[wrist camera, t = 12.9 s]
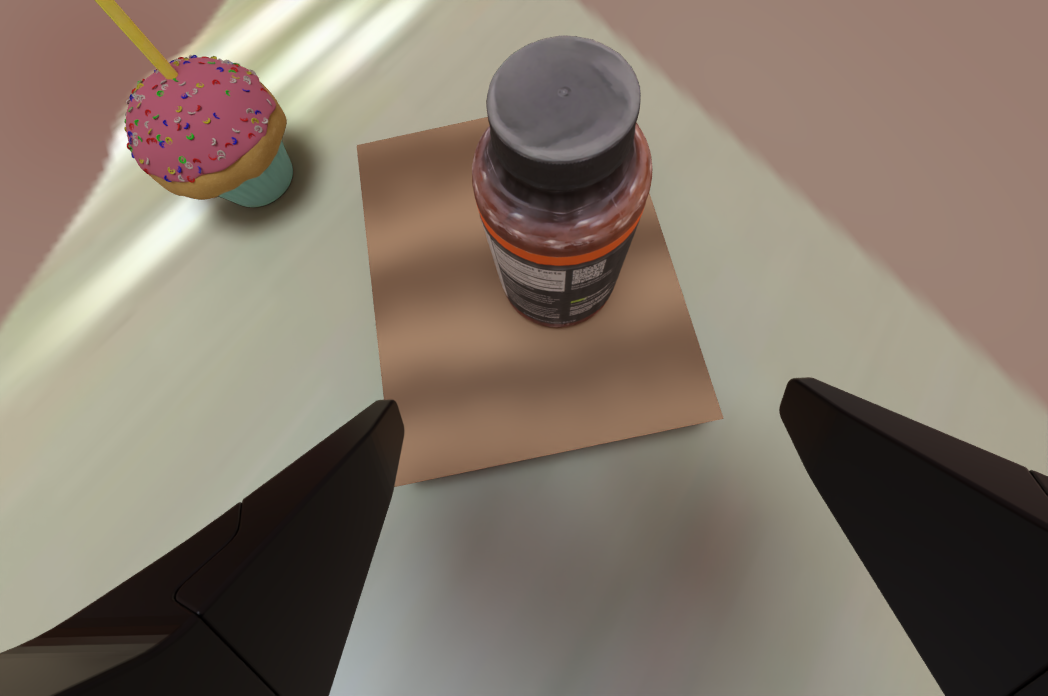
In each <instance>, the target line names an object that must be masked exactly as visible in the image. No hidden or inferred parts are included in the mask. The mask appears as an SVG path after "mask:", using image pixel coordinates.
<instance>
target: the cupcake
mask: <svg viewBox="0 0 1048 696" xmlns="http://www.w3.org/2000/svg"><path fill="white" fill-rule="evenodd" d="M95 1H96V2H97V3H98V4H99V5H100V7H101V8H102V9H103V10H104V11H105V12H106V13H107V14H108V15H109V16H110V18H111V19H112V20H113V21H114V22H115V23H116V24H117V25H118V26H119V28H120V29H121V30H122V31H123V32H124V33H125V34H126V35H127V36H128V37H129V39H130V40H131V41H132V42H133V43H134V44H135V45H136V46H137V47H138V48H139V49H140V50H141V52H142V53H143V54H144V55H145V56H146V57H147V58H148V59H149V60H150V62H151V63H152V64H153V65H154V66H155V67H156V68H157V69H156V70H154V73H153V74H152V75H150V76H149V77H148V78H147V79H143V80H142V81H138V83H137V88H135V89H133V90H132V94H131V95H130V97H129V99H128V100H127V101H126V103H127V104H129V106H128V109H127V112H126V114H125V116H126V119H125V123H126V127H125V131H126V132H127V137H128V141H129V143H127V148H128V149H129V150H130V151H131V152H132V153H131V155H132V157H133V158H135V160H136V161H137V163H138V165H139V166H140V168H141V169H142V170H143V171H145V172H146V173H147V174H149V175H150V176H151V177H152V178H153V179H154V180H155V181H156V182H158V183H159V184H160V185H161V186H163V187H164V188H165V189H167V190H168V191H170V192H172V193H174V194H176V195H179V196H186V197H189V198H193V199H199V200H204V199H210V198H215V197H217V196H219V197H222V198H224V199H227V200H229V201H232V202H234V203H237V204H239V205H242V206H245V207H260V206H264V205H267V204H269V203H271V202H273V201H275V200H276V199H278V198H279V197H280V196H281V195H282V194H283V193H284V192H285V191H286V190H287V188H288V187H289V185H290V183H291V180H292V176H293V167H292V163H291V161H290V159H289V156H288V154H287V152H286V150H285V148H284V145H283V142H282V137H283V134H284V131H285V128H286V124H287V120H286V116H285V114H284V112H283V110H282V109H281V107H280V106H279V104H278V102H277V100H276V99H275V98H274V96H273V95H272V94H271V92H270V91H269V90H268V89H267V88H266V87H265V86H264V85H263V84H262V83H261V82H260V81H259V78H258V76H257V75H256V73H255V72H254V71H253V70H248V69H246V68H244V67H241V66H240V65H239V64H237V63H232V62H230V61H229V60H224V61H222V60H221V59H219V60H217V57H216V56H213V57H211V58H209V57H202V58H197V56H196V55H193V56H192V55H189V59H188V58H187V57H185V58H183V57H179V58H178V59H175V60H172V61H171V62H170V63H168V61H167V60H166V59H165V58H164V57H163V56H162V55H161V54H160V52H159V51H158V50H157V49H156V48H155V47H154V45H153V44H152V43H151V42H150V41H149V40H148V39H147V37H145V35H144V34H143V33H142V32H141V31H140V29H139V28H138V27H137V26H136V25H135V24H134V23H133V21H132V20H131V19H130V18H129V17H128V16H127V15H126V14H125V12H124V11H123V10H122V9H121V8H120V7H119V5H118V4H117V3H116V2H115V1H114V0H95ZM141 82H142V83H141ZM128 101H129V103H128ZM129 144H130V145H129ZM129 147H130V148H129Z"/></svg>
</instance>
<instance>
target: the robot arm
mask: <svg viewBox="0 0 1048 696" xmlns="http://www.w3.org/2000/svg"><path fill="white" fill-rule="evenodd" d="M779 411H780V416H781V419H782V421H783V423H784V425H785V427H786V429H787V431H788V434H789V436H790V438H791V440H792V442H793V444H794V446H795V448H796V450H797V452H798V454H799V456H800V458H801V461H802V463H803V465H804V467H805V469H806V471H807V473H808V474H809V476H810V478H811V480H812V482H813V483H814V485H815V487H816V488H817V490H818V492H819V493H820V495H821V496H822V498H823V500H824V501H825V503H826V504H827V506H828V508H829V509H830V511H831V512H832V514H833V516H834V517H835V519H836V521H837V522H838V524H839V525H840V527H841V529H842V530H843V532H844V533H845V535H846V537H847V538H848V540H849V542H850V543H851V545H852V546H853V548H854V550H855V551H856V553H857V554H858V556H859V558H860V559H861V561H862V562H863V564H864V566H865V567H866V569H867V571H868V572H869V574H870V575H871V577H872V579H873V580H874V582H875V583H876V585H877V587H878V588H879V590H880V592H881V593H882V595H883V596H884V598H885V600H886V601H887V603H888V604H889V606H890V608H891V609H892V611H893V612H894V614H895V616H896V617H897V619H898V621H899V622H900V624H901V625H902V627H903V629H904V630H905V632H906V633H907V635H908V637H909V638H910V640H911V642H912V643H913V645H914V646H915V648H916V650H917V651H918V653H919V654H920V656H921V658H922V659H923V661H924V662H925V664H926V666H927V667H928V669H929V671H930V672H931V674H932V675H933V677H934V679H935V680H936V682H937V683H938V685H939V687H940V688H941V690H942V692H943V693H944V695H945V696H1048V476H1045V475H1043V474H1041V473H1038V472H1036V471H1033V470H1030V471H1029V470H1028V469H1027V468H1026V467H1024V466H1021V465H1019V464H1017V463H1014V462H1012V461H1009V460H1007V459H1005V458H1002V457H1000V456H998V455H995V454H993V453H990V452H988V451H986V450H983V449H981V448H979V447H976V446H974V445H971V444H969V443H967V442H964V441H962V440H959V439H957V438H955V437H952V436H950V435H948V434H945V433H943V432H940V431H938V430H936V429H933V428H931V427H929V426H926V425H924V424H921V423H919V422H917V421H914V420H912V419H909V418H907V417H905V416H902V415H900V414H898V413H895V412H893V411H890V410H888V409H886V408H883V407H881V406H879V405H876V404H874V403H871V402H869V401H867V400H864V399H862V398H859V397H857V396H855V395H852V394H850V393H848V392H845V391H843V390H840V389H838V388H836V387H833V386H831V385H829V384H826V383H824V382H821V381H819V380H817V379H814V378H810V377H806V378H793V379H791V380H790V381H789V382H788V383H787V386H786V389H785V392H784V395H783V398H782V401H781V404H780V410H779ZM404 433H405V429H404V424H403V421H402V417H401V414H400V411H399V407H398V404H397V402H396V401H395V400H393V399H389V400H377V401H376V402H374V403H373V404H371V405H370V406H369V407H367V408H366V409H365V410H363V411H362V412H361V413H359V414H358V415H356V416H355V417H354V418H352V419H351V420H350V421H348V422H347V423H346V424H344V425H343V426H342V427H340V428H339V429H338V430H336V431H335V432H334V433H332V434H331V435H329V436H328V437H327V438H325V439H324V440H323V441H321V442H320V443H319V444H317V445H316V446H315V447H313V448H312V449H311V450H309V451H308V452H306V453H305V454H304V455H302V456H301V457H300V458H298V459H297V460H296V461H294V462H293V463H292V464H290V465H289V466H288V467H286V468H285V469H283V470H282V471H281V472H279V473H278V474H277V475H275V476H274V477H273V478H271V479H270V480H269V481H267V482H266V483H265V484H263V485H262V486H260V487H259V488H258V489H256V490H255V491H254V492H252V493H251V494H250V495H248V496H247V497H246V498H244V499H243V501H242V503H241V502H239V503H237V504H236V505H235V506H233V507H232V508H231V509H229V510H228V511H227V512H225V513H224V514H223V515H221V516H220V517H218V518H217V519H216V520H214V521H213V522H211V523H210V524H209V525H207V526H206V527H204V528H203V529H202V530H200V531H199V532H198V533H196V534H195V535H193V536H192V537H191V538H189V539H188V540H186V541H185V542H183V543H182V544H180V545H179V546H177V547H176V548H174V549H173V550H171V551H170V552H168V553H167V554H165V555H164V556H162V557H161V558H159V559H158V560H156V561H155V562H153V563H152V564H150V565H149V566H147V567H146V568H144V569H143V570H141V571H140V572H138V573H137V574H135V575H134V576H132V577H131V578H129V579H128V580H126V581H125V582H123V583H122V584H120V585H119V586H117V587H116V588H114V589H112V590H111V591H109V592H108V593H106V594H105V595H103V596H102V597H100V598H99V599H97V600H96V601H94V602H93V603H91V604H90V605H88V606H87V607H85V608H84V609H82V610H81V611H79V612H78V613H76V614H75V615H73V616H72V617H70V618H68V619H67V620H65V621H64V622H62V623H60V624H59V625H57V626H56V627H54V628H52V629H50V630H49V631H47V632H45V633H43V634H41V635H39V636H38V637H36V638H34V639H32V640H29V641H27V642H25V643H23V644H21V645H19V646H17V647H14V648H12V649H9V650H7V651H4V652H2V653H0V696H329V693H330V690H331V687H332V684H333V681H334V678H335V674H336V671H337V668H338V665H339V662H340V659H341V656H342V652H343V649H344V646H345V643H346V640H347V637H348V634H349V630H350V627H351V624H352V621H353V618H354V615H355V612H356V608H357V605H358V602H359V599H360V596H361V593H362V590H363V586H364V583H365V580H366V577H367V574H368V571H369V568H370V564H371V561H372V558H373V555H374V552H375V549H376V545H377V542H378V539H379V536H380V533H381V530H382V527H383V523H384V520H385V517H386V514H387V511H388V508H389V505H390V501H391V498H392V494H393V490H394V486H395V481H396V476H397V470H398V465H399V460H400V455H401V450H402V445H403V440H404Z"/></svg>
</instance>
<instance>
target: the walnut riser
mask: <svg viewBox="0 0 1048 696" xmlns="http://www.w3.org/2000/svg"><path fill="white" fill-rule="evenodd" d="M489 126H490V125H489V122H488V117H486V118H481V119H476V120H472V121H467V122H462V123H458V124H453V125H449V126H444V127H439V128H435V129H430V130H425V131H421V132H416V133H412V134H407V135H402V136H398V137H393V138H388V139H384V140H379V141H375V142H370V143H365V144H361V145H357V153H358V162H359V172H360V181H361V190H362V200H363V209H364V218H365V227H366V237H367V246H368V255H369V265H370V274H371V283H372V292H373V302H374V311H375V320H376V329H377V339H378V348H379V357H380V367H381V376H382V385H383V394H384V400H389V399H393V400H395V401H396V402H397V404H398V407H399V411H400V414H401V417H402V421H403V424H404V429H405V433H404V440H403V445H402V450H401V455H400V460H399V465H398V470H397V476H396V481H395V486H394V487H397V486H401V485H406V484H411V483H416V482H421V481H426V480H430V479H435V478H440V477H445V476H450V475H454V474H459V473H464V472H469V471H474V470H479V469H483V468H488V467H493V466H498V465H503V464H507V463H512V462H517V461H522V460H527V459H532V458H536V457H541V456H546V455H551V454H556V453H560V452H565V451H570V450H575V449H580V448H585V447H589V446H594V445H599V444H604V443H609V442H613V441H618V440H623V439H628V438H633V437H637V436H642V435H647V434H652V433H657V432H662V431H666V430H671V429H676V428H681V427H686V426H690V425H695V424H700V423H705V422H710V421H715V420H719V419H723V416H722V413H721V410H720V407H719V403H718V400H717V397H716V394H715V391H714V388H713V385H712V382H711V379H710V376H709V373H708V370H707V367H706V364H705V361H704V358H703V355H702V352H701V349H700V346H699V343H698V340H697V337H696V334H695V330H694V327H693V324H692V321H691V318H690V315H689V312H688V309H687V306H686V303H685V300H684V297H683V294H682V291H681V288H680V285H679V282H678V279H677V276H676V273H675V270H674V267H673V264H672V261H671V258H670V254H669V251H668V248H667V245H666V242H665V239H664V236H663V233H662V230H661V227H660V224H659V221H658V218H657V215H656V212H655V209H654V206H653V203H652V200H651V197H650V194H648V197H647V200H646V204H645V207H644V210H643V213H642V215H641V218H640V221H639V224H638V226H637V229H636V232H635V234H634V237H633V239H632V242H631V245H630V247H629V250H628V252H627V255H626V258H625V260H624V263H623V265H622V268H621V271H620V273H619V276H618V279H617V281H616V284H615V286H614V289H613V291H612V293H611V295H610V297H609V299H608V300H607V302H606V303H605V305H604V306H603V307H602V308H601V309H600V310H599V311H598V312H597V313H596V314H595V315H594V316H592V317H590V318H589V319H587V320H585V321H584V322H581V323H578V324H576V325H571V326H566V327H558V328H557V327H548V326H543V325H540V324H537V323H534V322H532V321H530V320H528V319H526V318H525V317H524V316H522V315H521V314H520V313H519V312H518V311H516V310H515V308H514V307H513V306H512V305H511V303H510V302H509V300H508V298H507V296H506V294H505V292H504V289H503V287H502V284H501V281H500V278H499V275H498V272H497V269H496V265H495V262H494V260H493V256H492V253H491V249H490V246H489V244H488V241H487V237H486V234H485V231H484V227H483V225H482V221H481V218H480V214H479V210H478V207H477V204H476V200H475V196H474V191H473V186H472V185H473V184H472V164H473V157H474V154H475V150H476V148H477V145H478V143H479V140H480V138H481V136H482V135H483V133H484V132H485V131H486V129H487V128H488V127H489Z"/></svg>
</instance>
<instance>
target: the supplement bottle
mask: <svg viewBox="0 0 1048 696" xmlns="http://www.w3.org/2000/svg"><path fill="white" fill-rule="evenodd" d="M486 103H487V114H488V122H489V125H490V126H489V127H488V128H487V129H486V131H485V132H484V133H483V135H482V136H481V138H480V140H479V143H478V145H477V148H476V150H475V154H474V157H473V164H472V184H473V185H472V186H473V191H474V196H475V200H476V204H477V207H478V210H479V214H480V218H481V221H482V225H483V227H484V231H485V234H486V237H487V241H488V244H489V246H490V249H491V253H492V256H493V260H494V262H495V265H496V269H497V272H498V275H499V278H500V281H501V284H502V287H503V289H504V292H505V294H506V296H507V298H508V300H509V302H510V303H511V305H512V306H513V307H514V308H515V310H516V311H518V312H519V313H520V314H521V315H522V316H524V317H525V318H526V319H528V320H530V321H532V322H534V323H537V324H540V325H543V326H548V327H557V328H558V327H566V326H571V325H576V324H578V323H581V322H584V321H585V320H587V319H589V318H590V317H592V316H594V315H595V314H596V313H597V312H598V311H599V310H600V309H601V308H602V307H603V306H604V305H605V303H606V302H607V300H608V299H609V297H610V295H611V293H612V291H613V289H614V286H615V284H616V281H617V279H618V276H619V273H620V271H621V268H622V265H623V263H624V260H625V258H626V255H627V252H628V250H629V247H630V245H631V242H632V239H633V237H634V234H635V232H636V229H637V226H638V224H639V221H640V218H641V215H642V213H643V210H644V207H645V204H646V200H647V197H648V194H649V191H650V186H651V180H652V159H651V153H650V149H649V146H648V143H647V140H646V138H645V136H644V134H643V132H642V131H641V129H640V128H639V125H638V124H637V123H636V121H637V118H638V114H639V109H640V86H639V82H638V80H637V77H636V75H635V72H634V71H633V69H632V67H631V66H630V65H629V64H628V62H627V61H626V60H625V59H624V58H623V57H622V56H621V55H620V54H619V53H618V52H616V51H614V50H613V49H611V48H610V47H608V46H606V45H604V44H602V43H600V42H596V41H594V40H593V39H587V38H581V37H577V36H556V37H550V38H545V39H541V40H538V41H536V42H534V43H530V44H528V45H526V46H524V47H522V48H521V49H519V50H517V51H516V52H514V53H513V54H512V55H511V56H509V57H508V58H507V59H506V60H505V61H504V62H503V63H502V65H501V66H500V67H499V68H498V70H497V71H496V73H495V74H494V76H493V78H492V80H491V83H490V86H489V90H488V94H487V101H486Z"/></svg>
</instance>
